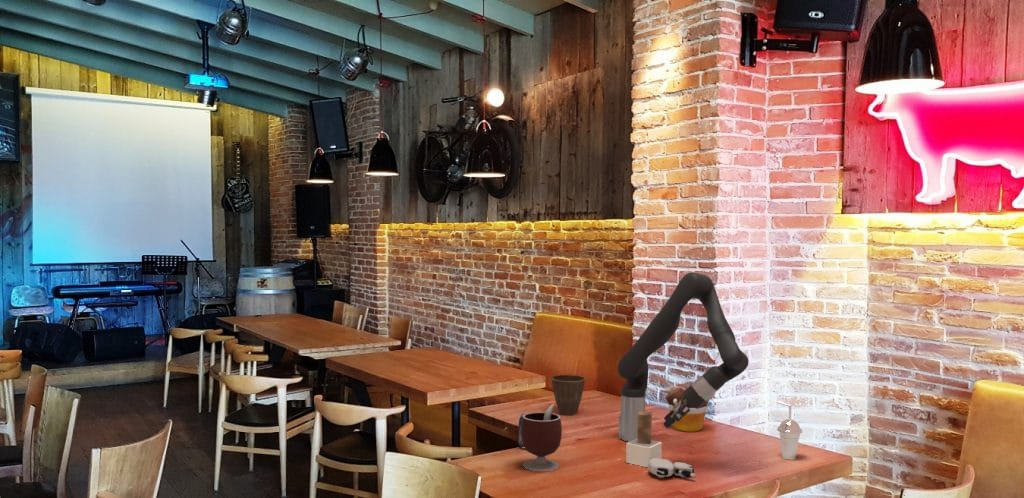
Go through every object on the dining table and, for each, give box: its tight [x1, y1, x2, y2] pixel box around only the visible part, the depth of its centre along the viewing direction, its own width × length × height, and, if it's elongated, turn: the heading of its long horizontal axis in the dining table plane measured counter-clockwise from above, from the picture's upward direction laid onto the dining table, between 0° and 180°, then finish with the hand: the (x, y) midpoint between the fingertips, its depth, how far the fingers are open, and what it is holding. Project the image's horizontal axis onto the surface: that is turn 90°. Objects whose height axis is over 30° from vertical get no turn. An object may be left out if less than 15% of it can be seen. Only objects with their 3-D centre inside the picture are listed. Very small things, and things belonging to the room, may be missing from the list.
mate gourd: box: [521, 403, 563, 472], centre depth 252 cm, size 16×14×20 cm
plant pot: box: [551, 374, 586, 416], centre depth 329 cm, size 15×15×16 cm
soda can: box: [518, 413, 525, 449], centre depth 275 cm, size 7×7×12 cm
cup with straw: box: [775, 400, 803, 460], centre depth 266 cm, size 8×9×20 cm
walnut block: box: [638, 411, 653, 444], centre depth 257 cm, size 4×4×10 cm
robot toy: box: [647, 457, 696, 479], centre depth 244 cm, size 12×4×15 cm
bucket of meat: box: [664, 385, 711, 433], centre depth 305 cm, size 20×16×20 cm
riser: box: [625, 438, 663, 468], centre depth 257 cm, size 9×9×7 cm
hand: (665, 423), depth 255 cm, fingers open, 8 cm apart
